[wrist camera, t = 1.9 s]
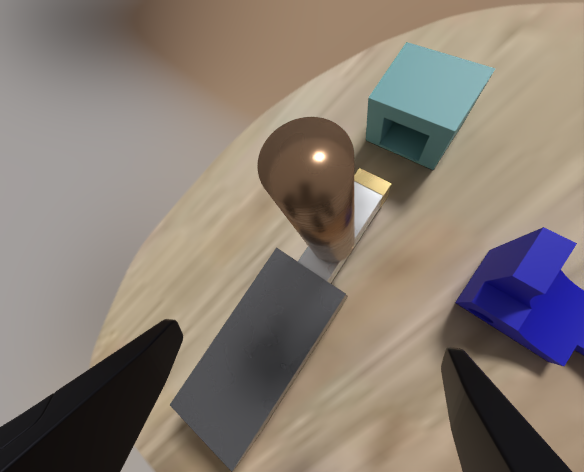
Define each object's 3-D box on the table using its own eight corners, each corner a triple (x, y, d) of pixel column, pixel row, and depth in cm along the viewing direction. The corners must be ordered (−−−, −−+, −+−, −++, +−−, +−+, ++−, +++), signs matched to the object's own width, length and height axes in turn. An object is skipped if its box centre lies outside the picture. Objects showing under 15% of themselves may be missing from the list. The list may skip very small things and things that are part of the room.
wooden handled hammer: (256, 405, 19) (74, 587, 7) (226, 377, 20) (16, 490, 8) (390, 199, 21) (443, 36, 8) (356, 181, 22) (357, 12, 9)
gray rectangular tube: (257, 438, 19) (231, 472, 15) (204, 386, 21) (169, 404, 17) (347, 296, 20) (345, 293, 16) (290, 258, 22) (276, 247, 18)
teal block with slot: (433, 170, 21) (455, 131, 17) (365, 140, 23) (368, 97, 19) (465, 120, 22) (495, 68, 17) (396, 94, 24) (406, 42, 19)
